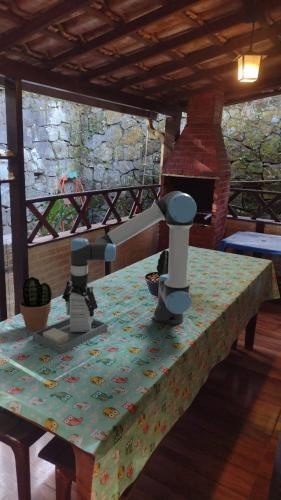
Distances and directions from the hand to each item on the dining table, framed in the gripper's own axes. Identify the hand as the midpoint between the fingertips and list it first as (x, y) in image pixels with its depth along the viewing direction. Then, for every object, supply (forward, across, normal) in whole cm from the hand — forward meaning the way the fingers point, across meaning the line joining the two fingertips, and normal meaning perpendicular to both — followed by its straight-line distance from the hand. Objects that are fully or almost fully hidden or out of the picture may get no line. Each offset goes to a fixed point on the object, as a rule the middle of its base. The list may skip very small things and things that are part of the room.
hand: (79, 318), depth 166 cm
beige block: (+6, 0, +14) cm, 15 cm away
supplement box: (+5, 0, -1) cm, 5 cm away
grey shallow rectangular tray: (+7, 0, +5) cm, 9 cm away
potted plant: (+7, +18, +10) cm, 22 cm away
